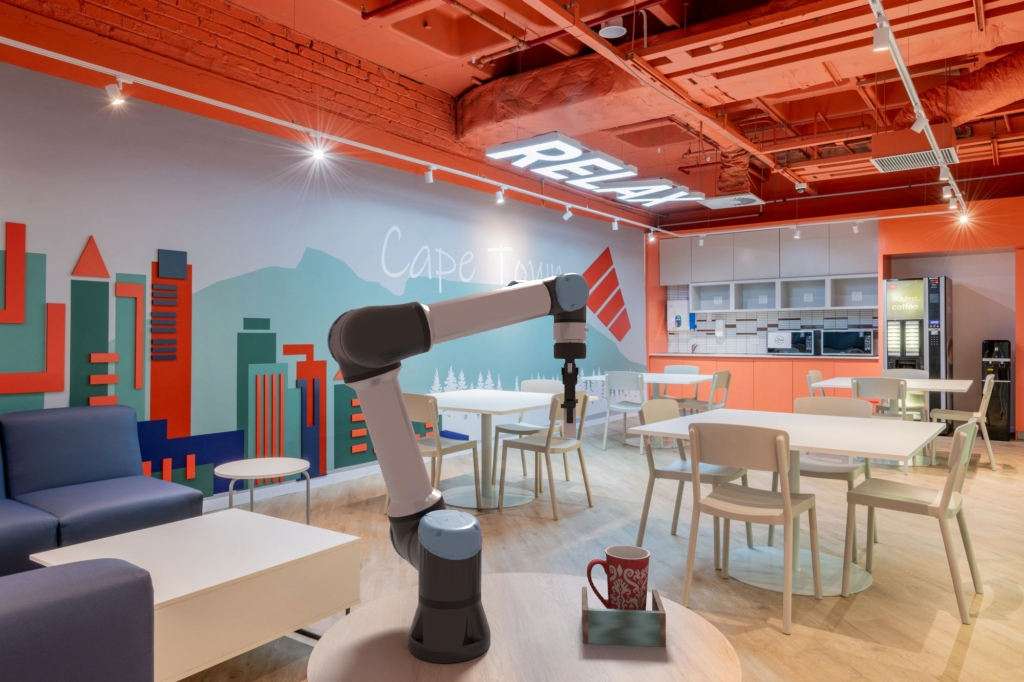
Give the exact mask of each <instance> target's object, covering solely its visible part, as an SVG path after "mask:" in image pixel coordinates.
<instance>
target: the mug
mask: <svg viewBox="0 0 1024 682" xmlns="http://www.w3.org/2000/svg"><path fill="white" fill-rule="evenodd" d="M604 553H605V560H603V559H601V558H594V559H592V560H590V562H589V563H588V564H587V567H586V576H587V580H588V581H587V582H588V583H589V586H590V588H591V590H592V591H593V593H594V595H595V596H596V597H597V599H598V600H599V602H601V604H603V606H604V607H605V609H622V610H647V602H648V601H647V597H648V581H649V566H650V557H651V552H650V550H648V549H647V548H644V547H639V546H636V545H626V544H623V545H622V544H619V545H611V546H608V547H606V548H605V549H604ZM596 565H600V566H601V567H602V568H603V570H604V573H605V575H606V580H607V581H606V583H607V599H606V598H604V597H603V595H602V594H601V593H600V592H599V590H598V589H597V588H596V586H595V584H594V582H593V579H592V569H593V568H594V566H596Z"/></svg>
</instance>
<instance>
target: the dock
mask: <svg viewBox="0 0 1024 682" xmlns="http://www.w3.org/2000/svg"><path fill="white" fill-rule="evenodd" d="M658 590H659V589H658V588H657V589H656V588H655V589H651V610H647V609H646V610H622V609H607V608H595V607H594V608H593V607H589V601H588V599H589V598H588V586H581V631H582V634H581V635H582V644H596V645H597V644H598V645H601V644H602V645H621V646H638V647H639V646H643V647H662V648H664V647H665V648H666V647H667V631H666V630H667V629H666V628H667V621H666V620H667V619H666V618H667V613H666V609H665V608H664V604H663V601H662V599H661V597H660V593H659V591H658Z"/></svg>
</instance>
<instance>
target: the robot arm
mask: <svg viewBox="0 0 1024 682" xmlns="http://www.w3.org/2000/svg"><path fill="white" fill-rule="evenodd" d="M589 297H590V287H589V284H588V282H587V280H586V278H585V276H584V275H581V274H579V273H576V272H575V273H574V272H571V273H570V272H566V273H562V274H557V275H554V276H550V277H545V278H540V279H539V278H538V279H535V280H524V279H522V280H512V281H510V282H509V283H508V284H507V286H505V287H500V288H496V289H490V290H487V291H486V290H485V291H482V292H477V293H473V294H468V295H463V296H459V297H455V298H451V299H449V298H448V299H446V300H441V301H437V302H433V303H428V304H427V303H426V304H422V303H421V302H419V301H412V302H406V303H399V304H398V303H397V304H388V305H384V304H383V305H368V306H363V307H360V308H353V309H350V310H348V311H345V312H343V313H341V315H339V316H338V317H337V318H336V319H335V320H334V321H333V322H332V324H331V325H330V328H329V330H328V332H327V338H326V339H327V340H326V345H327V349H328V351H329V353H330V355H331V357H332V358H333V360H334V361H335V362H336V363H337V364H338V367H339V370H340V374H341V377H342V380H343V383H344V385H345V386H347V387H349V388H351V389H353V390H354V391H355V394H356V396H357V400H358V403H359V405H360V409H361V413H362V414H363V418H364V422H365V425H366V427H367V431H368V433H369V438H370V441H371V444H372V447H373V449H374V453H375V455H376V458H377V459H376V460H377V462H378V465H379V468H380V472H381V474H382V476H383V477H382V478H383V480H384V483H385V486H386V489H387V493H388V496H389V499H390V503H389V505H388V507H387V508H386V515H387V518H388V523H389V530H388V532H389V538H390V542H391V544H392V547H393V549H394V551H395V552H396V553H397V554H398V556H400V557H401V559H403V560H404V561H406V562H407V563H408V564H409V565H410V566H412V567H413V568H414V569H416V571H418V576H417V577H418V578H417V579H418V588H417V590H418V593H417V594H418V595H417V596H418V598H417V601H418V602H417V606H416V609H415V612H414V616H413V618H412V621H411V625H410V628H409V632H408V642H407V643H408V650H409V651H410V653H411V655H413V656H414V657H416V658H418V659H420V660H423V661H426V662H427V661H428V662H431V663H440V664H441V663H442V664H452V663H461V662H466V661H469V660H473V659H476V658H478V657H480V656H481V655H484V654H485V653H486V652H487V651H488V650H489V648H490V647H491V641H492V640H491V637H492V635H491V629H490V624H489V621H488V618H487V615H486V612H485V608H484V606H483V602H482V566H483V565H482V563H483V560H482V558H483V554H482V551H483V548H482V547H483V543H484V542H483V536H482V525H481V523H480V521H479V520H478V518H477V517H476V516H474V515H472V514H471V513H469V512H465V511H460V510H457V509H447V506H446V502H445V499H444V497H443V493H442V491H441V490H440V489H437V488H435V487H433V486H432V484H431V481H430V480H431V479H430V477H429V474H428V470H427V466H426V465H425V460H424V457H423V454H422V452H421V449H420V445H419V442H418V439H417V435H416V432H415V428H414V427H413V423H412V419H411V416H410V413H409V410H408V409H409V408H408V407H407V404H406V400H405V398H404V397H405V396H404V394H403V391H402V387H401V385H400V381H399V378H398V376H399V374H400V372H401V369H402V368H403V366H402V362H401V361H404V360H406V359H409V358H412V357H416V356H417V355H421V354H425V353H428V352H430V351H431V350H432V348H433V346H434V345H438V344H442V343H446V342H450V341H454V340H458V339H461V338H466V337H468V336H473V335H477V334H481V333H485V332H488V331H492V330H496V329H500V328H504V327H509V326H512V325H516V324H519V323H523V322H528V321H532V320H536V319H540V318H543V317H544V318H545V317H548V316H552V317H553V325H552V326H553V333H552V334H553V341H555V343H554V344H553V359H555V360H564V364H563V366H561V367H560V368H561V369H560V371H561V378H562V379H561V380H562V381H561V383H562V385H564V386H563V387H564V388H563V391H564V392H563V393H564V394H563V395H564V396H563V397H564V398H563V400H564V401H563V403H560V409H563V439H577V408H576V407H577V404H579V398H576V397H577V396H576V385H577V384H578V380H579V379H578V378H579V377H578V376H579V372H580V371H579V366H578V367H577V364H576V362H575V361H576V360H585V359H586V358H587V344H586V343H585V342H584V341H587V332H589V331H590V328H589V327H587V303H588V301H589Z"/></svg>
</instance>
